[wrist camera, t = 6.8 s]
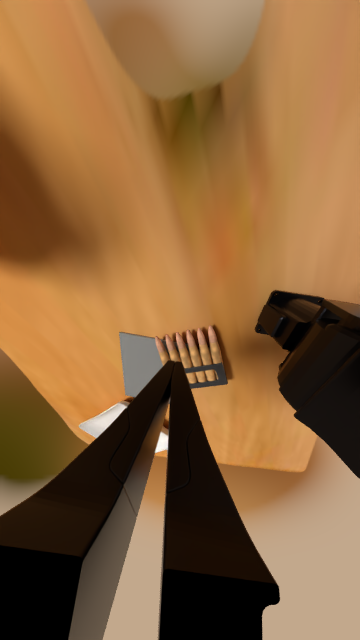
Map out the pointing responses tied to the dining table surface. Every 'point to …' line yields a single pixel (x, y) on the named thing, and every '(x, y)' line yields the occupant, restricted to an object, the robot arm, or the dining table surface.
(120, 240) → the dining table surface
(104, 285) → the dining table surface
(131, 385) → the mat
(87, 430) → the salad plate
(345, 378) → the robot arm
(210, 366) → the ammunition clip
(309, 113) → the dining table surface
